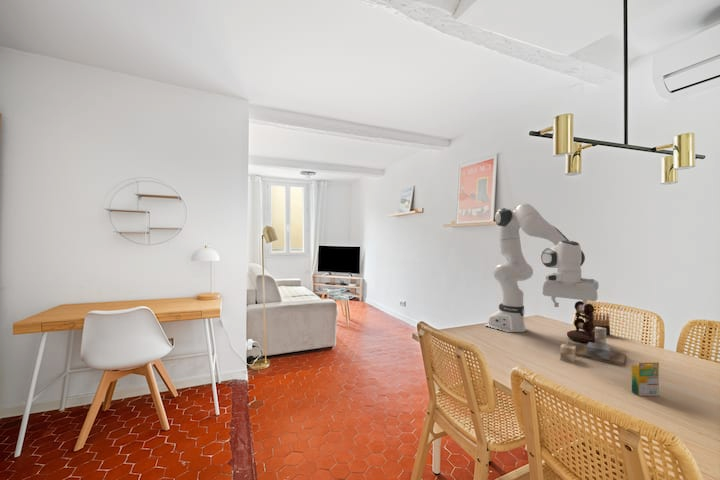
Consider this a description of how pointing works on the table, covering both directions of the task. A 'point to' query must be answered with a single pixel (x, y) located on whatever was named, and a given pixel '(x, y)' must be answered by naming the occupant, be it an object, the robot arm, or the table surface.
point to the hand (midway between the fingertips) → (568, 308)
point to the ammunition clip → (601, 322)
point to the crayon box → (645, 379)
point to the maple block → (567, 353)
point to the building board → (613, 354)
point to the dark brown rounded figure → (583, 323)
